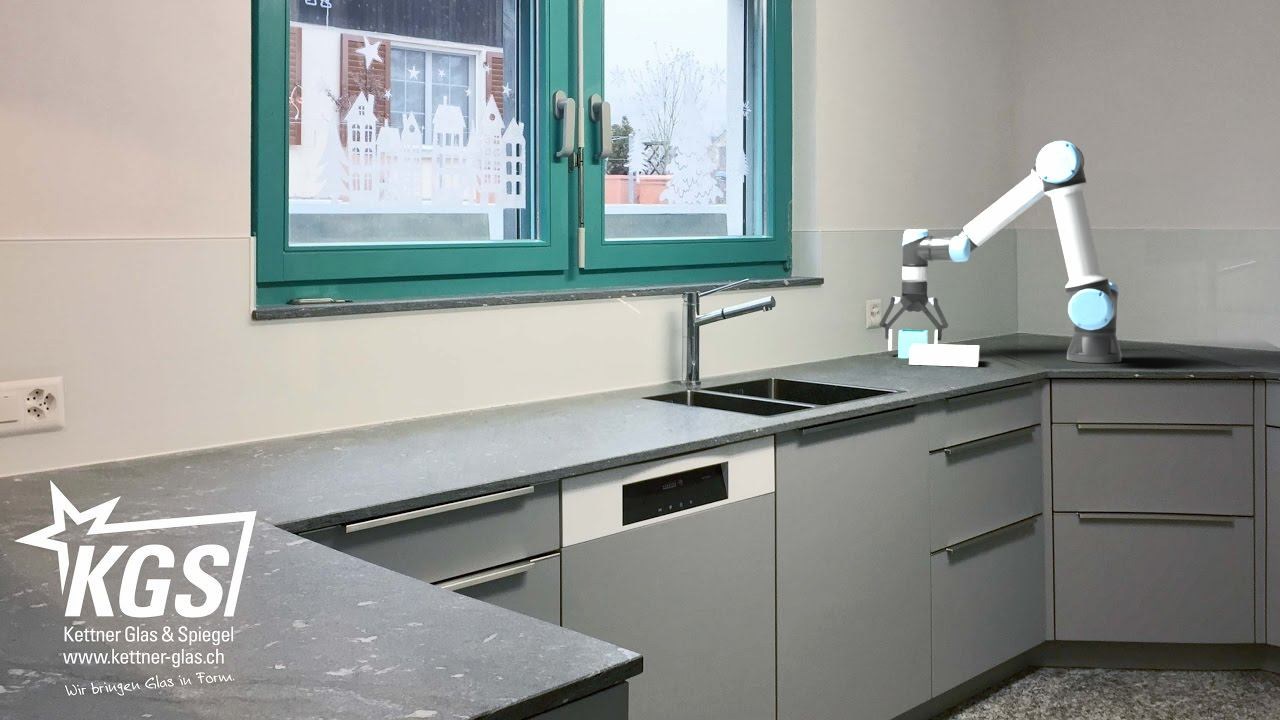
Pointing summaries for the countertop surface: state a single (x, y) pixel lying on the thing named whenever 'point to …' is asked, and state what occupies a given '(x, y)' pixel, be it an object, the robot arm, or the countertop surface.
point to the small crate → (910, 340)
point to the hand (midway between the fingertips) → (912, 350)
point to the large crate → (944, 355)
